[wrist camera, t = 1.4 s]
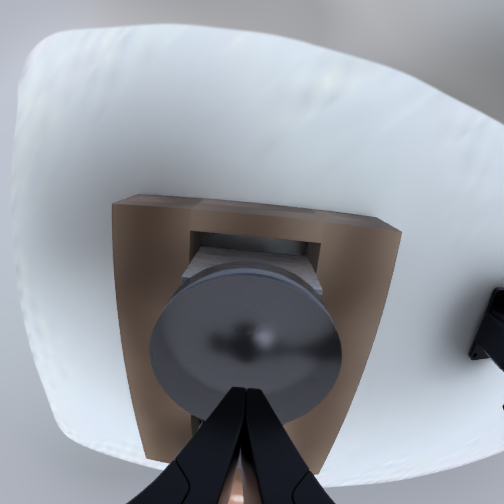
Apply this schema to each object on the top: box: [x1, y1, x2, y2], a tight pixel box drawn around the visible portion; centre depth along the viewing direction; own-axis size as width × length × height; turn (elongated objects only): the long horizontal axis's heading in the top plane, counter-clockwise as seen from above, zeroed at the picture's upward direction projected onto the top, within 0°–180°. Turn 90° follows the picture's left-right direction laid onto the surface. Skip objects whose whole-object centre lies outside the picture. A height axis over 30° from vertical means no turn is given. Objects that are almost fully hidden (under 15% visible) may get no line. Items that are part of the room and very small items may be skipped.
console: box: [112, 195, 402, 475], centre depth 18 cm, size 14×20×4 cm
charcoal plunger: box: [149, 246, 342, 424], centre depth 12 cm, size 6×6×5 cm
